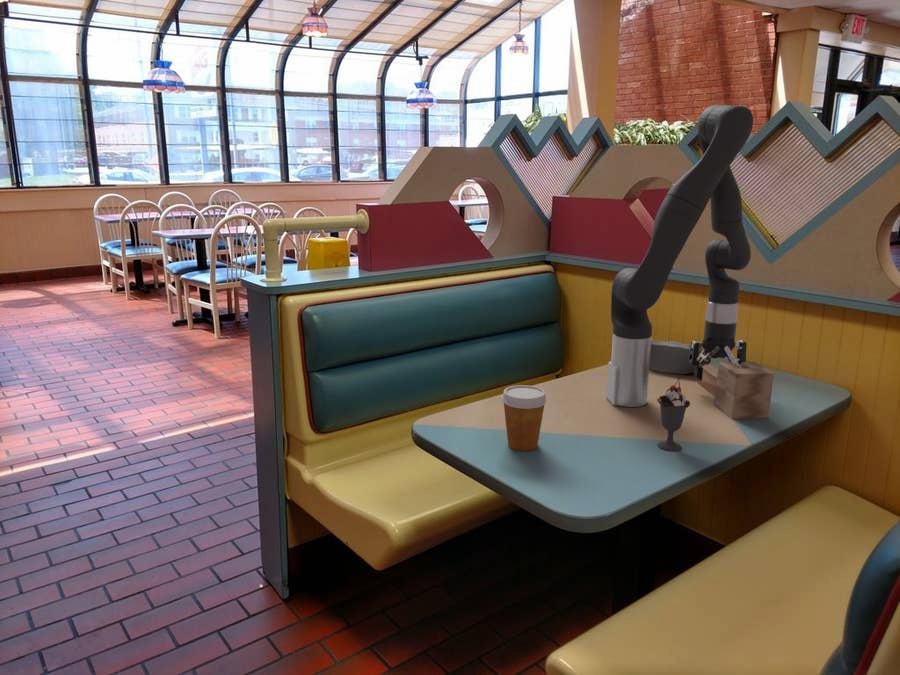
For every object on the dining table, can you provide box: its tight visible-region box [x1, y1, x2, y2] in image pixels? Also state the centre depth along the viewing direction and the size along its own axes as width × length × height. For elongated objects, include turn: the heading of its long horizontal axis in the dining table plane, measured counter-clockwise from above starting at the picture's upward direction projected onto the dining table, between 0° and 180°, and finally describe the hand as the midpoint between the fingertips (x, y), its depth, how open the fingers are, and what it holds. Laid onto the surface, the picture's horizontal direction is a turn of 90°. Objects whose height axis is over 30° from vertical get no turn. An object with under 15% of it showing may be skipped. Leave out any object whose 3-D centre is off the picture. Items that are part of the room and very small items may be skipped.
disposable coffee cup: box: [501, 384, 548, 452], centre depth 150 cm, size 10×10×12 cm
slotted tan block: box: [714, 361, 775, 420], centre depth 169 cm, size 9×9×11 cm
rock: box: [649, 338, 712, 375], centre depth 204 cm, size 18×11×8 cm, turn 59°
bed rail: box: [697, 365, 718, 397], centre depth 181 cm, size 3×20×5 cm, turn 4°
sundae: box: [656, 376, 691, 452], centre depth 149 cm, size 7×7×15 cm
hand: (714, 379), depth 185 cm, fingers open, 8 cm apart
